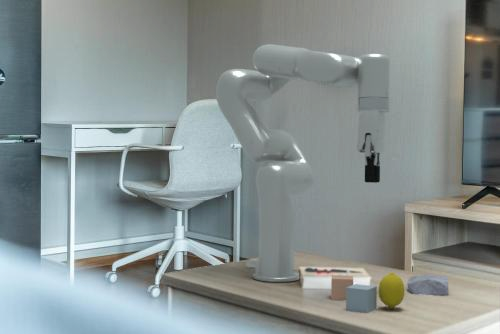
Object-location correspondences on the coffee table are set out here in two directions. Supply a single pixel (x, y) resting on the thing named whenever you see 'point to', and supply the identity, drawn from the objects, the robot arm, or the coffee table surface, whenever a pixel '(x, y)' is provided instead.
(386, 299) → the lemon
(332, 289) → the terracotta block
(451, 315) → the coffee table surface
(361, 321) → the coffee table surface
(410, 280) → the stone block
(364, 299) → the slate block
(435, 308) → the coffee table surface
